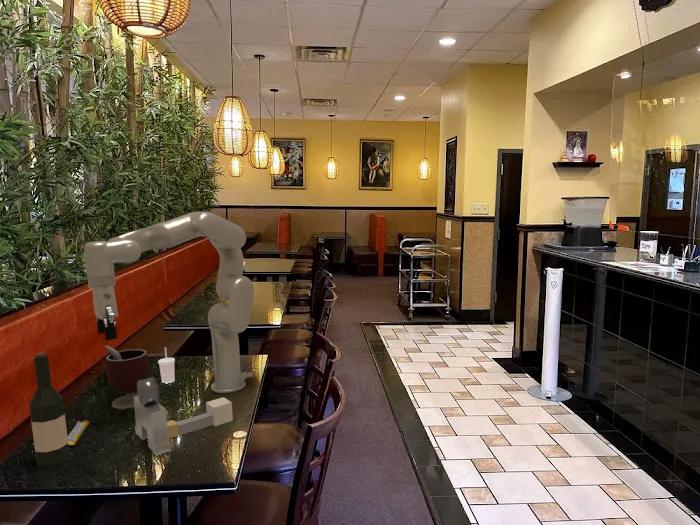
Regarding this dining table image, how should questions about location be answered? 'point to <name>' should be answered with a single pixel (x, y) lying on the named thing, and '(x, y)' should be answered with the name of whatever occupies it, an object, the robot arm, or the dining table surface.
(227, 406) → the plug
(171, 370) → the beverage cup
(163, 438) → the bulkhead
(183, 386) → the dining table surface
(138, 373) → the mate gourd
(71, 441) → the candy bar
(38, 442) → the wine bottle
